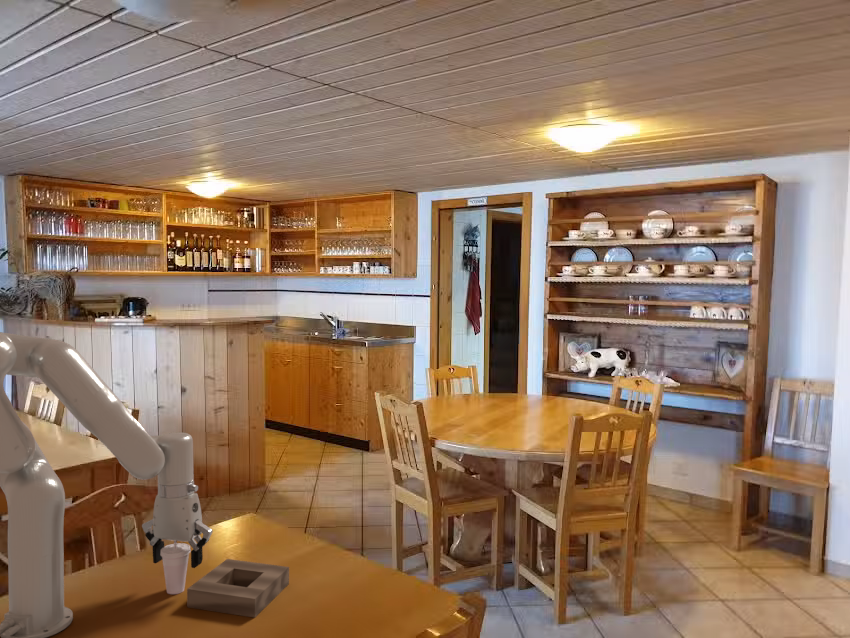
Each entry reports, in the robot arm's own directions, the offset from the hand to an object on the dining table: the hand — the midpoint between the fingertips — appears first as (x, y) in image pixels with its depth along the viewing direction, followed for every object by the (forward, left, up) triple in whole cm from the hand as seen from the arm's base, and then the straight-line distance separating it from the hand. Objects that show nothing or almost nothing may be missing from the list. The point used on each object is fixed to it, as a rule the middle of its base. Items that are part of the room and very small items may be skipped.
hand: (177, 563), depth 147 cm
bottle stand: (+2, -15, -6) cm, 16 cm away
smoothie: (0, 0, -6) cm, 6 cm away
